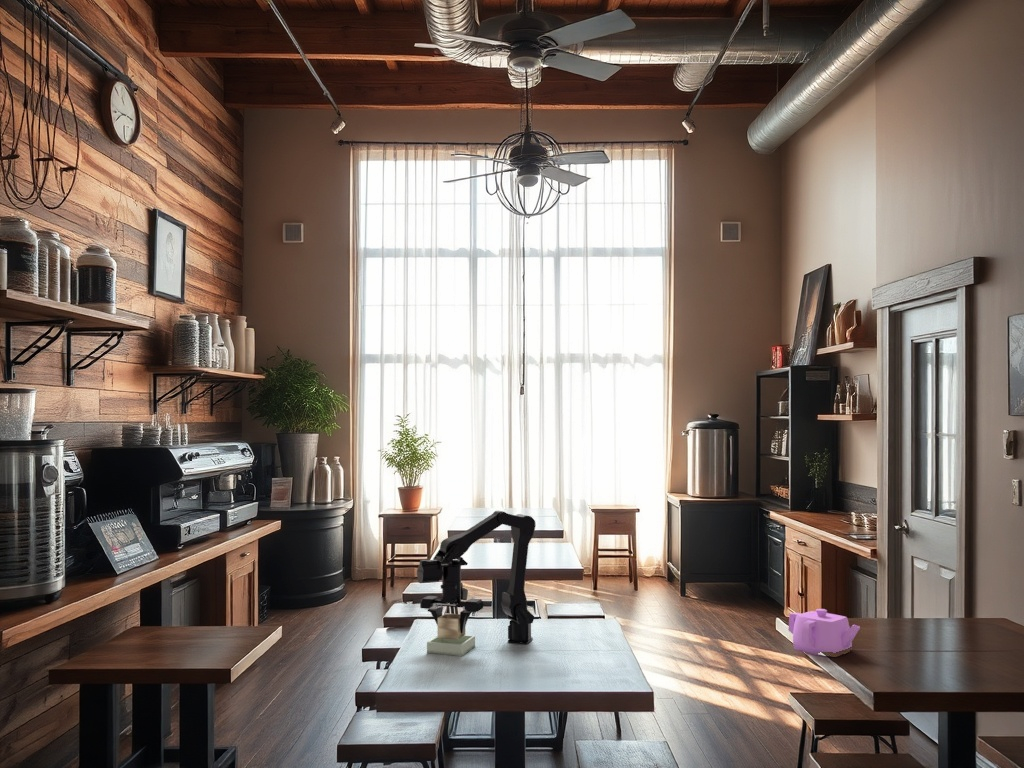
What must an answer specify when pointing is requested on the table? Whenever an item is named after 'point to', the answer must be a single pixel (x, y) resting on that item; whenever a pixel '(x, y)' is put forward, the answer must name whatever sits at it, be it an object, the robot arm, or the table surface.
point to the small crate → (449, 626)
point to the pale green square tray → (451, 645)
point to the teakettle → (821, 632)
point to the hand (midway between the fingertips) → (451, 632)
